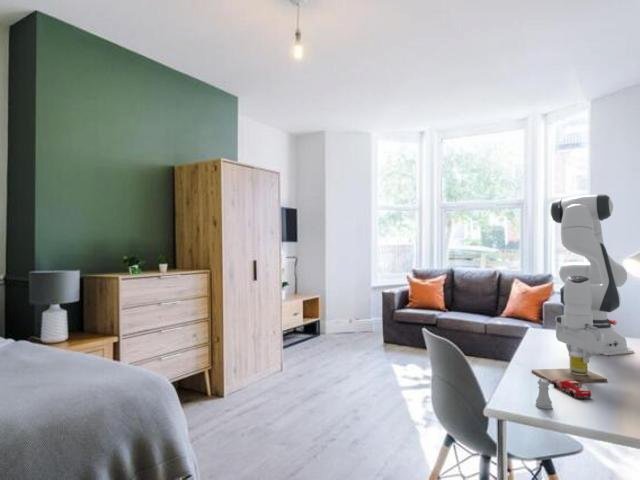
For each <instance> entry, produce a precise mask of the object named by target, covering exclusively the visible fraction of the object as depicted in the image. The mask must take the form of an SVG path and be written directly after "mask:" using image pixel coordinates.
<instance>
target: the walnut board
mask: <svg viewBox="0 0 640 480" xmlns="http://www.w3.org/2000/svg"><path fill="white" fill-rule="evenodd" d="M531 373H532V374H534V375H536V376H537V377H539V378H541V379H542V380H543V379H545V380H546V379H547V380H548V382H549V383H550V385H551V384H552V385H553V383H554V381H555V380H574V381H577V382H579V383H581V384H582V383H608V378H606V377H604V376H602V375H600V374H597V373H596V372H593V371H591V370H588V369H587V375H583V376H582V375H575V374H572V373H570V367H569V368H543V369H542V368H541V369H540V368H539V369H531Z"/></svg>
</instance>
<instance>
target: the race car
mask: <svg viewBox="0 0 640 480" xmlns="http://www.w3.org/2000/svg"><path fill="white" fill-rule="evenodd" d="M552 386H553V387H554V388H555V389H558V390H559V391H562V392H563V393H565V394H566V395H569V396H570V397H571V398H576V399H591V398H592V392H591V391H590V389H588V388H587V387H586V386H585V385H583V384H582V383H579V382H577V381H574V380H555V381H554V383H553V384H552Z"/></svg>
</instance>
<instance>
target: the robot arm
mask: <svg viewBox="0 0 640 480" xmlns="http://www.w3.org/2000/svg"><path fill="white" fill-rule="evenodd" d="M613 210H614V204H613V201H612V199H611V197H610V196H609V195H607V194H601V193H600V194H589V195H587V194H585V195H579V196H572V197H566V198H560V199H557V200H554V201H553V202H552V203H551V207H550V210H549V211H550V212H549V213H550V216H551V218H552V220H553V222H556V223H557V224H560V237H561V238H560V240H561V243H562V245H563V247H564V248H565V249H566V250H568V251H569V252H570V253H573V254H575V255H578V256H582V257H583V258H585V259H586V260H587V261H572V262H566V263H563V264H562V265H561V267H560V268H559V271H558V275H559V278H560V280H561V281H562V283H564V285H563V286H562V287H561V288H560V289H559V290H560V291H559V292H560V303H561V305H563V306H564V309H563V314H562V315H558V316H555V319H554V321H555V322H556V323H555V337H556V339H557V341H558V342H561V343H563V344H565V347H566V349H567V351H568V357H570V352H571V351H573V350H572V346H574V347H576V348H578V349H581V350H583V353H584V356H583V357H581V359H582V360H581V361H582V362H583V363H587V364H589V363H590V358H591V356H592V355H603V356H614V355H623V354H624V355H625V354H633V353H635V350H634V349H633V348H631V347H628V344H627V339H626V338H625V336H624V335H623V334H621V333H620V332H618V331H617V330H615V329H614V328H613V327H612V325H614V326H616V325H617V321H616V320H615V319H609V318H608V313H612V312H614V311H615V310H617V309H618V308H619V307H620V304H621V300H622V299H621V294H620V291H619V290H618V288H620V287H623V286H624V285H625V284H626V282H627V279H628V272H627V270H626V269H625V267H624V266H623V265H621V264H620V263H618V262H617V261H615V260H614V259H613V258H612V257H611V256H610V255H609V254H608V251H607V248H606V246H605V244H604V236H603V231H602V224H601V222H602V221H604V220H607V219H609V218H610V217H611V216H612V213H613Z"/></svg>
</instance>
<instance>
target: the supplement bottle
mask: <svg viewBox="0 0 640 480" xmlns="http://www.w3.org/2000/svg"><path fill="white" fill-rule="evenodd" d="M572 350H573V351H571V352H570V356H569V368H570V373H572V374H575V375H582V376H583V375H587V370H588V363H583V362H582V361H581V360H582V359H581V357H583V356H584V353H583V350H581V349H578V348H576V347H574V346H572Z"/></svg>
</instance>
